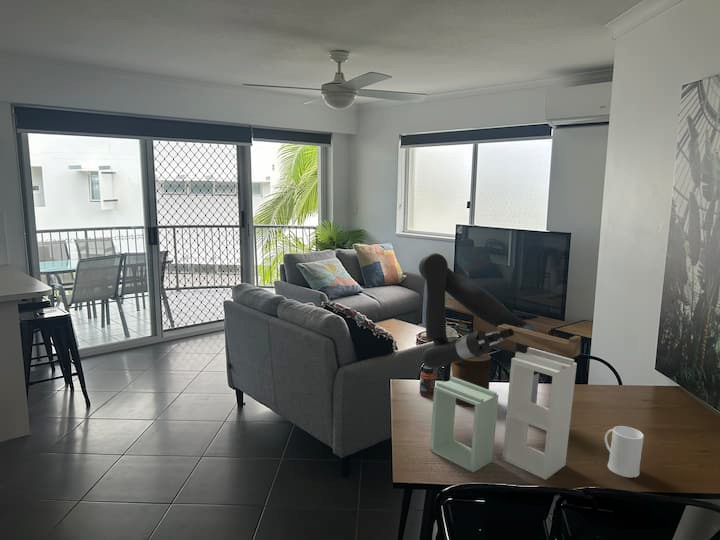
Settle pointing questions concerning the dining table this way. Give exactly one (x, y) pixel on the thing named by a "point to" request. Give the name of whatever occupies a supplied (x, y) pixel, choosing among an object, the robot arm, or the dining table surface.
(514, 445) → the shelf stand
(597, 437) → the dining table surface
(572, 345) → the hook bar
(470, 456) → the rest stand
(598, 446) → the dining table surface
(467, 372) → the wooden container
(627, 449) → the mug
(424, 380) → the supplement bottle
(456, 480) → the dining table surface
